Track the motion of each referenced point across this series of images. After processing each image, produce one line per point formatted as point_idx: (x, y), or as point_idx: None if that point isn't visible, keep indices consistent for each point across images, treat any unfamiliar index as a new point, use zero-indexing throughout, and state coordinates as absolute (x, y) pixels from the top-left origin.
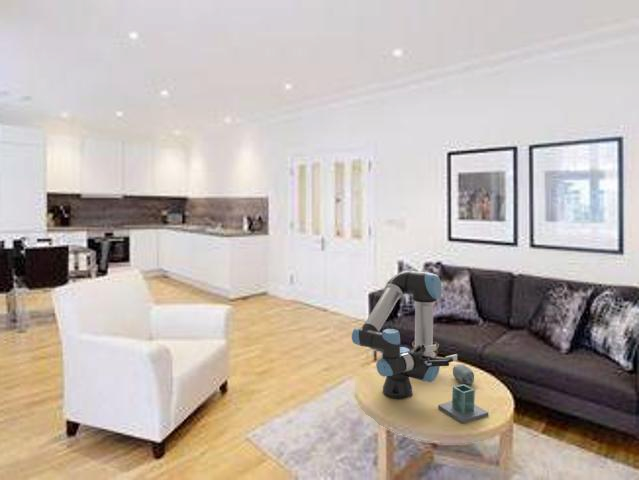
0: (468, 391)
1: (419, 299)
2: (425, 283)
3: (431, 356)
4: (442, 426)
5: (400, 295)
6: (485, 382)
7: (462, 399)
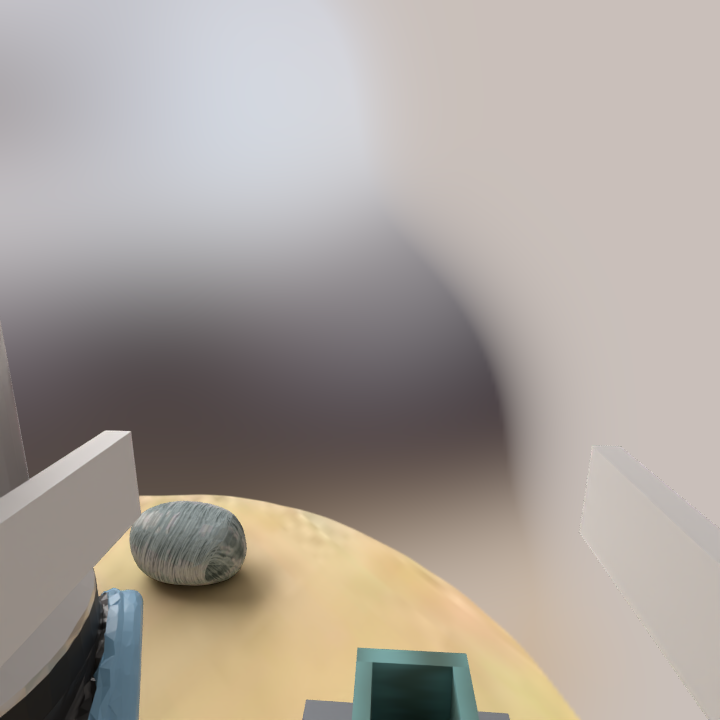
0: (474, 712)
1: None
2: None
3: (55, 629)
4: None
5: None
6: (269, 527)
7: None
